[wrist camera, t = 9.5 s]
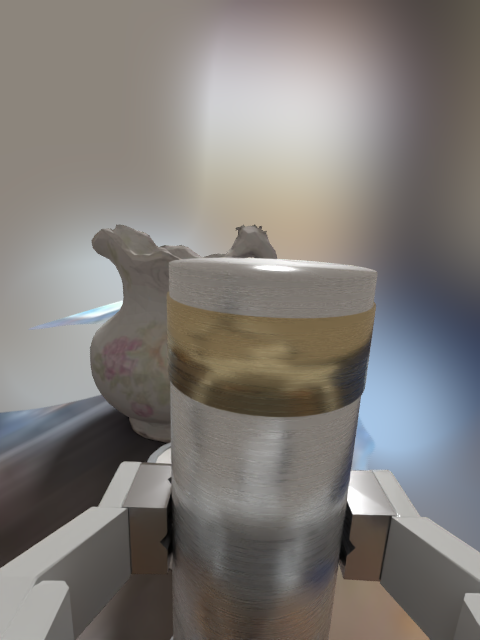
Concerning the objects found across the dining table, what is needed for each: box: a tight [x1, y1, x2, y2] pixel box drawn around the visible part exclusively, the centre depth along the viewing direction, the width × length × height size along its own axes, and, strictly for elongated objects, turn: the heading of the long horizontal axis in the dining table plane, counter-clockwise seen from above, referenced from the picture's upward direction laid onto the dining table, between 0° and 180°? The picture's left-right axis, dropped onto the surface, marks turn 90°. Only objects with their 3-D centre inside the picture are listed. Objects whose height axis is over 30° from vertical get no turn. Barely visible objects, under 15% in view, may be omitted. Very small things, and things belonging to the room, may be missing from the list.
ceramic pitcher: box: [90, 225, 277, 443], centre depth 43 cm, size 22×20×25 cm
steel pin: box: [167, 258, 377, 640], centre depth 9 cm, size 4×4×14 cm
